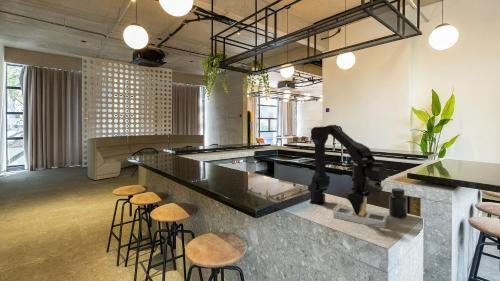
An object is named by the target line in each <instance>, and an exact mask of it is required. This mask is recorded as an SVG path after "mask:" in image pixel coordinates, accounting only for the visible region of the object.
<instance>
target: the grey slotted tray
mask: <svg viewBox="0 0 500 281" xmlns="http://www.w3.org/2000/svg"><path fill="white" fill-rule="evenodd" d="M332 216H333V218H334V219H338V220H342V221H348V222H353V223H357V224H361V225H362V224H363V225H366V226H372V227H376V228H379V229H380V228H381V229H385V228H386V226H387V223H388V215H387V214H381V213H374V212H371V211H366V216H365V217H362V216H357V215H353V209H349V208H344V207H338V208H337V209H336V210H333V215H332Z"/></svg>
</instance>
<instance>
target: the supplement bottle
mask: <svg viewBox="0 0 500 281" xmlns="http://www.w3.org/2000/svg"><path fill="white" fill-rule="evenodd" d="M388 213H389V214H388V215H389V216H390V217H392V218H394V219H401V220H402V219H406V218H407V217H408V197H407V196H406V195H405V189H403V188H399V187H398V188H397V187H394V188H393V187H392V188H391V194H390V195H389V196H388Z"/></svg>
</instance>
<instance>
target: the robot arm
mask: <svg viewBox="0 0 500 281" xmlns="http://www.w3.org/2000/svg"><path fill="white" fill-rule="evenodd" d="M329 135H331V137H333V138H334V139H335V140H336V141H337V142H338V143H340V144H341V145H342V146H343V147H344V148H345V149H346V150H347V155H348V156H350V158H351V161H349V162H348V165H351V166H352V177H351V182H352V187H351V191H350V192H348V193H347V194H346V200H348V201H349V202H350V204H351V205H350V206H352V207H353V209H354V211H355V213H356V214H357V215H359V212H360V207H361V203H363V202H364V201H365V196H367V197H368V196H369V195H370V194H372V195H374V196H375V197H380V196H381V193H382V191H383V189H384V188H383V186H382V183H381V182H380V181H382V182H384V181H385V180H386V179H387V177H388V170H387V167H386V166H385V163H384V162H377V160H376V159H375V157H374V156H373V154H372V152H371V149H370V148H369V147H368V146H366V145H365V144H364V143H360V142H359V141H358V142H357V141H355V140H354V139H353V138H352V137H351V136H349V135H348V134H347V133H346V132H345V131H343V130H342V129H341V128H340V127H339V126H338V125H337V124H329V125H326V126H314V127H312V128H311V130H310V136H311V140H312V143H313V144H314V174H313V175H312V177H311V183H310V184H308V186H307V191H308V192H310V201H309V204H314V205H320V206H323V204H324V203H326V194H325V192H326V191H327V190H328V187H329V186H330V184H331V183H330V175H328V174H327V173H326V143H327V140H328V139H329ZM370 179H371V180H372V179H373V180H377V181H376V182H372V181H370Z"/></svg>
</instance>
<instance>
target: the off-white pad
mask: <svg viewBox="0 0 500 281" xmlns="http://www.w3.org/2000/svg"><path fill="white" fill-rule="evenodd" d="M338 207H344V208H349V209H353V207H352V205H349V204H344V203H337V205H335V206H334V207H333V208H332V210H333V211H335V210H336V209H337V208H338Z"/></svg>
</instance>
